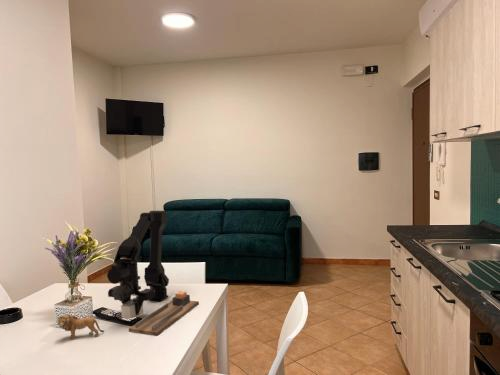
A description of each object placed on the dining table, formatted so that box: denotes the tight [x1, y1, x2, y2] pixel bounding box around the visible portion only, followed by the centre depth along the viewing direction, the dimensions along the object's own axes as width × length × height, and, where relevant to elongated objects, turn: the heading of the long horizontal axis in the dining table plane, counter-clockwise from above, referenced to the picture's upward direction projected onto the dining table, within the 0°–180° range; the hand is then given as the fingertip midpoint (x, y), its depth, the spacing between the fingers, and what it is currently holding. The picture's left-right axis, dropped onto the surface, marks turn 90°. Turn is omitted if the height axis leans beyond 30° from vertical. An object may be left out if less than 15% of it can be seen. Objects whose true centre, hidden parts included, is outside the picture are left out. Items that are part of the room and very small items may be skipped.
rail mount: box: [128, 294, 199, 337], centre depth 145 cm, size 12×30×4 cm, turn 159°
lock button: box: [174, 290, 188, 299], centre depth 155 cm, size 3×3×3 cm
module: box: [120, 297, 144, 318], centre depth 146 cm, size 4×8×7 cm, turn 159°
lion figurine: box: [57, 313, 105, 341], centre depth 131 cm, size 15×5×9 cm, turn 109°
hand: (132, 314), depth 146 cm, fingers closed on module, 4 cm apart
